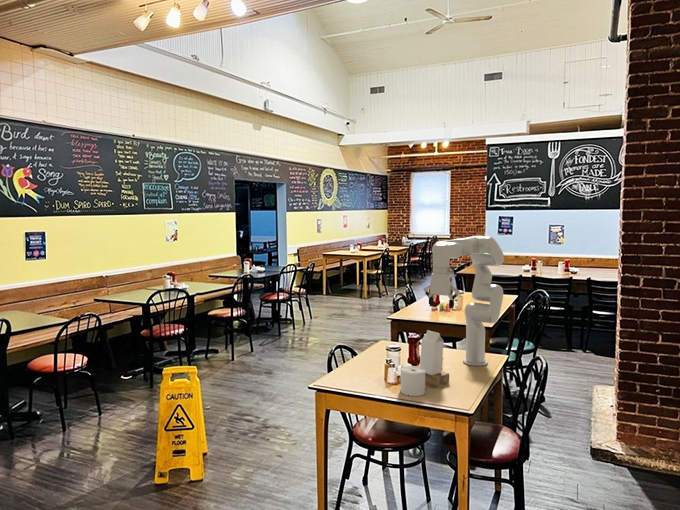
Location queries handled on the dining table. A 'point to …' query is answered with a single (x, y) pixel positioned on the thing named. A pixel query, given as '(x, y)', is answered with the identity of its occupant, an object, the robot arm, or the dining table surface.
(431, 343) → the milk carton
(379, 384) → the dining table surface
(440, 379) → the walnut block
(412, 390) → the toilet tissue
